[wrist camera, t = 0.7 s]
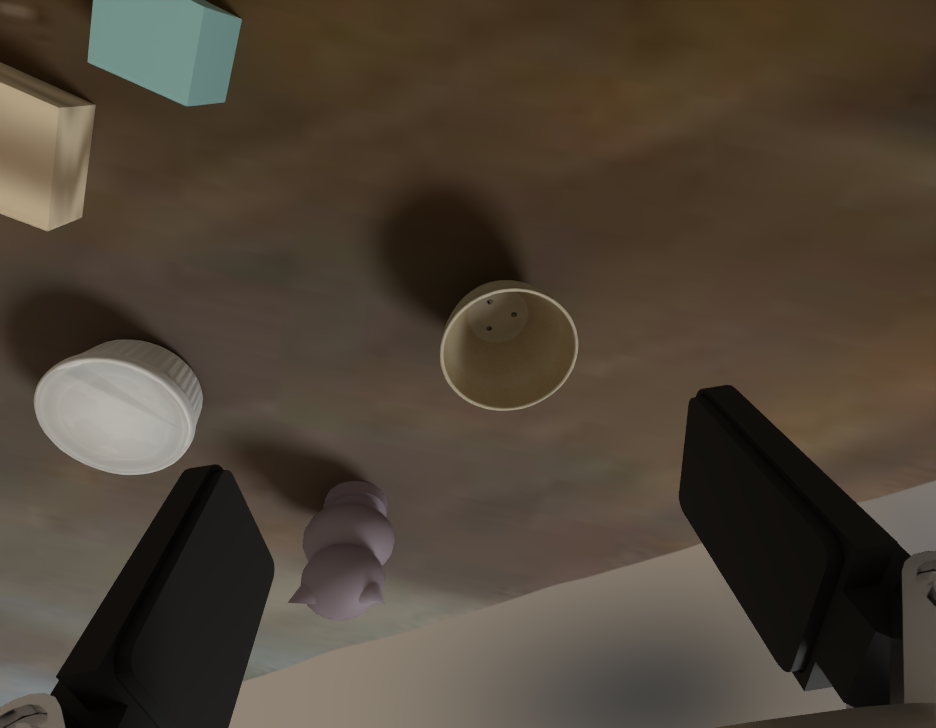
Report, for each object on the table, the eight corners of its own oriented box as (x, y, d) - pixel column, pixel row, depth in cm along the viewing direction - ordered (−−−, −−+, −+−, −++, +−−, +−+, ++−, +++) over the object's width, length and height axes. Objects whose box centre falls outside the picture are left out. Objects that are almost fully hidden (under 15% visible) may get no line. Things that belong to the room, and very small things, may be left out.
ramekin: (209, 334, 41) (182, 366, 36) (220, 441, 46) (198, 480, 42) (61, 318, 40) (12, 350, 35) (90, 431, 45) (51, 470, 40)
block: (155, -25, 29) (97, -47, 24) (242, 19, 31) (204, 7, 26) (143, 65, 32) (87, 62, 26) (225, 102, 33) (187, 106, 28)
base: (-46, 40, 30) (-107, 35, 27) (97, 104, 33) (58, 107, 29) (-46, 165, 34) (-100, 175, 30) (84, 216, 36) (47, 231, 33)
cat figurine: (316, 531, 53) (289, 642, 43) (309, 475, 49) (277, 582, 39) (397, 530, 54) (390, 639, 43) (396, 475, 50) (388, 579, 39)
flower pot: (423, 348, 43) (422, 394, 37) (460, 239, 38) (466, 270, 32) (529, 376, 45) (545, 424, 39) (576, 276, 41) (602, 312, 34)
